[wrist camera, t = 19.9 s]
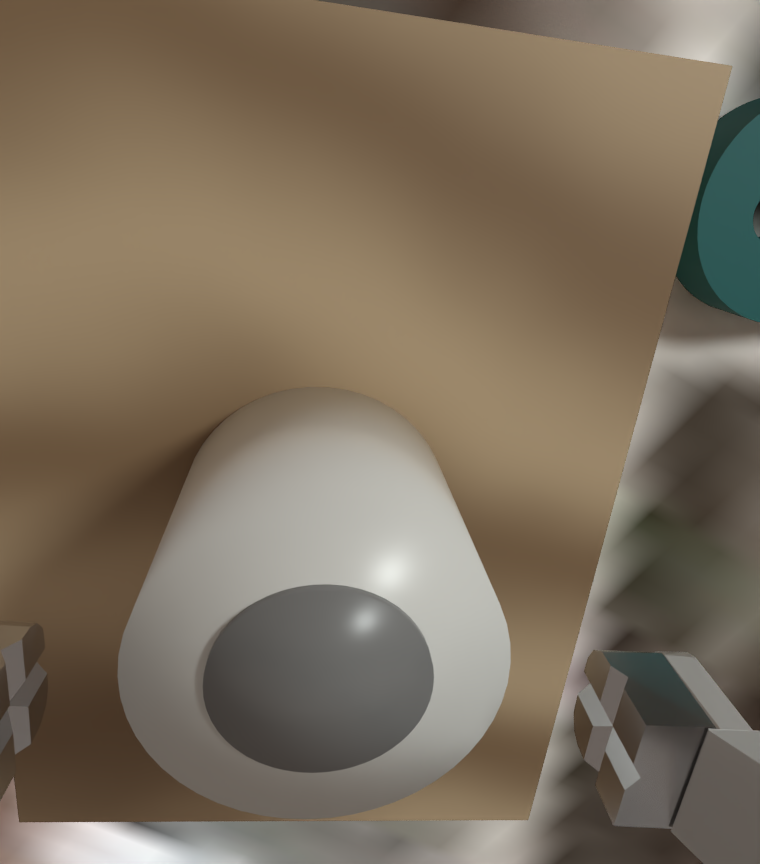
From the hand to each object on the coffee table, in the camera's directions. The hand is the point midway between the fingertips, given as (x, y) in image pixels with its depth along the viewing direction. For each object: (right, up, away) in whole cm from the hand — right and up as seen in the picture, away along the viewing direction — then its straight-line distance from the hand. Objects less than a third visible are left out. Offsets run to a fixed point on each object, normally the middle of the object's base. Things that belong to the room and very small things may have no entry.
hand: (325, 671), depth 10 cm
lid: (-1, +2, +5) cm, 5 cm away
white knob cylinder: (-1, +2, +4) cm, 5 cm away
